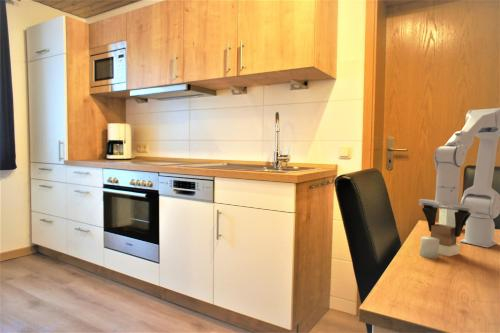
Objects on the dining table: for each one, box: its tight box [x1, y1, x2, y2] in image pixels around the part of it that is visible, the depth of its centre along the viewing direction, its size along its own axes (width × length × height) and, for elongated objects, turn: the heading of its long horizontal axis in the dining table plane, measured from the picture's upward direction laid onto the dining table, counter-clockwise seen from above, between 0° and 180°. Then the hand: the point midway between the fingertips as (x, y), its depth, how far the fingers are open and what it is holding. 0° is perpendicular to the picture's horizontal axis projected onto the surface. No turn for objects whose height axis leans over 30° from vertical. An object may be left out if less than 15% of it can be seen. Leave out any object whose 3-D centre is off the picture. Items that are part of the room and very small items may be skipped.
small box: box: [438, 206, 458, 227], centre depth 130 cm, size 8×6×10 cm
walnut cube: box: [430, 223, 458, 246], centre depth 95 cm, size 5×5×5 cm
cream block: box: [439, 243, 461, 257], centre depth 95 cm, size 6×6×3 cm
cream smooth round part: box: [419, 235, 440, 260], centre depth 91 cm, size 4×4×5 cm
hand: (444, 233), depth 95 cm, fingers open, 6 cm apart
